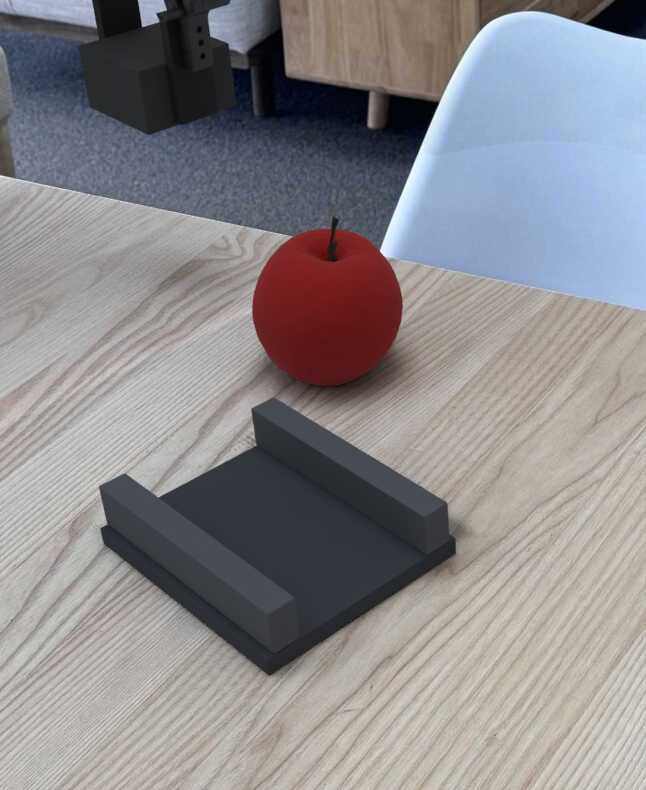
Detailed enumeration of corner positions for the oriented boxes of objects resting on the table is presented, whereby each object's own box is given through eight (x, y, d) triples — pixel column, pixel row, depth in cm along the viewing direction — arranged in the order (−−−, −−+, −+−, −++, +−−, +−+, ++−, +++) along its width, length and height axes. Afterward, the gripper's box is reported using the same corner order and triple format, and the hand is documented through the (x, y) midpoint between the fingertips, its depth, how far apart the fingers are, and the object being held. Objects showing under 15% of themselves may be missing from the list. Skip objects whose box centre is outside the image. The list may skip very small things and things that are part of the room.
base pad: (103, 542, 73) (90, 489, 71) (285, 444, 80) (279, 393, 78) (269, 675, 64) (260, 619, 63) (456, 553, 72) (453, 498, 70)
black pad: (89, 107, 87) (77, 45, 85) (176, 79, 91) (167, 19, 89) (148, 135, 83) (138, 71, 81) (236, 105, 87) (229, 42, 85)
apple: (272, 328, 91) (254, 187, 85) (411, 327, 91) (402, 185, 85) (249, 408, 83) (228, 258, 77) (401, 406, 83) (391, 256, 77)
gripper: (268, -301, 71) (308, 126, 84) (62, -331, 82) (126, 49, 95) (142, -284, 66) (205, 164, 79) (-57, -318, 78) (26, 79, 91)
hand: (162, 101), depth 87 cm, fingers closed on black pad, 6 cm apart
